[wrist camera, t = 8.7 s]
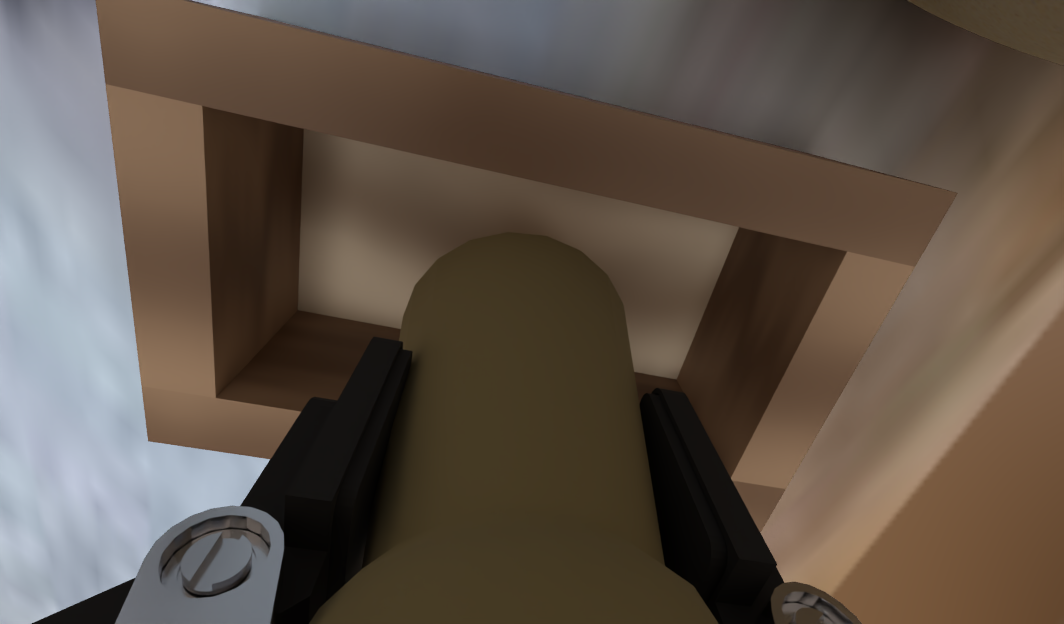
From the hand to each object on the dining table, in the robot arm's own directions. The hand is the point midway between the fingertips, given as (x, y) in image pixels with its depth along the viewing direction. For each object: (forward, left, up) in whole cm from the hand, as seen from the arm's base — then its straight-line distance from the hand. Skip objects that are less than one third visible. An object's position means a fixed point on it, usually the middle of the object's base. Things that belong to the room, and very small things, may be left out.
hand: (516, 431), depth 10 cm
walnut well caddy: (0, 0, -11) cm, 11 cm away
